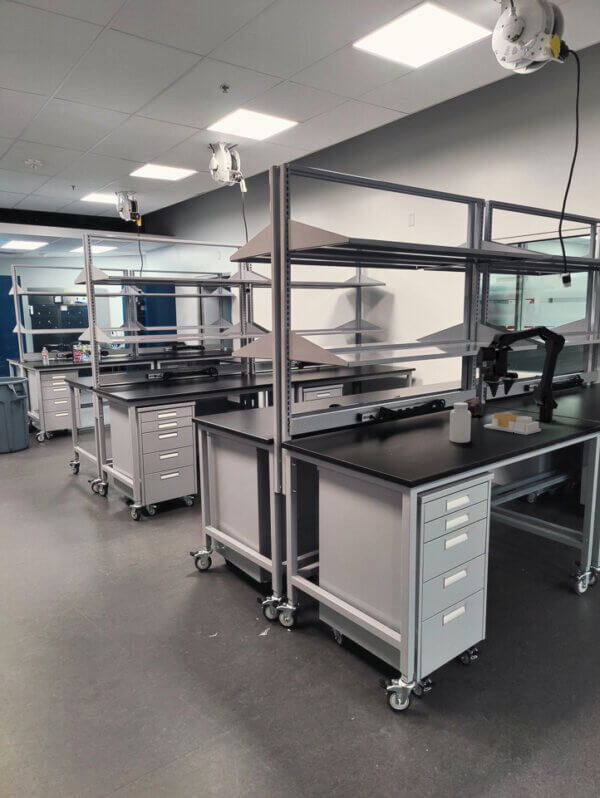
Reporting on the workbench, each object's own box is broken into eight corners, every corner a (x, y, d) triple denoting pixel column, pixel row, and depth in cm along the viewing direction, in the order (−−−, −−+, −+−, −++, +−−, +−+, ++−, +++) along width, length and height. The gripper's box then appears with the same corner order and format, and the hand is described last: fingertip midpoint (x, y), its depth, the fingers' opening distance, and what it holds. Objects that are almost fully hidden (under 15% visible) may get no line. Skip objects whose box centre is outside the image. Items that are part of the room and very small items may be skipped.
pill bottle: (455, 443, 208) (456, 405, 206) (445, 439, 216) (446, 402, 213) (474, 442, 210) (475, 404, 207) (463, 437, 217) (465, 401, 215)
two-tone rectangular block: (498, 423, 239) (499, 412, 238) (531, 428, 226) (532, 417, 226) (493, 424, 236) (493, 413, 236) (525, 430, 224) (526, 418, 223)
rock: (457, 418, 263) (476, 420, 256) (455, 401, 261) (475, 403, 254) (468, 411, 271) (487, 413, 264) (467, 395, 269) (486, 396, 262)
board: (498, 423, 243) (499, 415, 242) (540, 431, 227) (541, 421, 226) (484, 427, 236) (484, 418, 236) (526, 434, 220) (526, 425, 220)
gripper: (497, 359, 252) (496, 391, 254) (473, 361, 241) (471, 396, 243) (519, 360, 243) (518, 394, 245) (494, 363, 232) (493, 398, 235)
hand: (499, 395), depth 242 cm, fingers open, 9 cm apart
